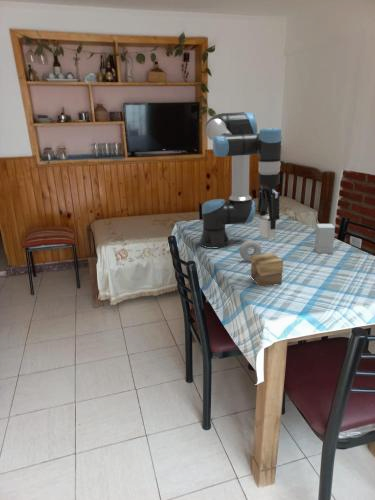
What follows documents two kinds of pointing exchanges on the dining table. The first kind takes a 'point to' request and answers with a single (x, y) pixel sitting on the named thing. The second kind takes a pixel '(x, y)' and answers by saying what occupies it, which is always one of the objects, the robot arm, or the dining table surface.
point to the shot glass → (264, 225)
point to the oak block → (267, 264)
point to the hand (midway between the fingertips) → (267, 234)
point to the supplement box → (324, 238)
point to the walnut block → (266, 278)
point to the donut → (246, 246)
